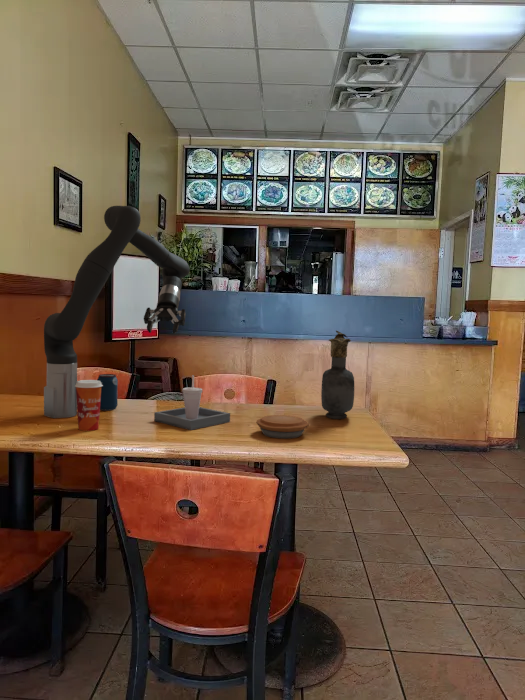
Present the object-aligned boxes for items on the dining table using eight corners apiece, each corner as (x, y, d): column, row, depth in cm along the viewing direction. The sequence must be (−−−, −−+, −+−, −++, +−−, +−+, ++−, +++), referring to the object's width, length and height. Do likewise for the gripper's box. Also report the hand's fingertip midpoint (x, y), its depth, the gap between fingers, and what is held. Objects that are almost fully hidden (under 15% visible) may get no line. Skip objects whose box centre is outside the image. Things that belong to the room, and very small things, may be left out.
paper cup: (76, 432, 148) (76, 383, 147) (72, 426, 155) (73, 380, 154) (105, 430, 152) (105, 382, 150) (100, 425, 158) (100, 379, 157)
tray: (190, 430, 155) (191, 420, 155) (154, 421, 166) (154, 412, 166) (229, 421, 168) (230, 413, 168) (193, 413, 179) (193, 405, 179)
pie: (272, 426, 165) (272, 410, 165) (316, 433, 157) (317, 417, 157) (245, 435, 152) (246, 418, 151) (292, 443, 144) (293, 425, 143)
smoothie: (203, 417, 170) (204, 374, 169) (199, 421, 164) (200, 377, 163) (184, 416, 171) (185, 373, 170) (179, 420, 164) (180, 376, 163)
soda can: (121, 408, 184) (122, 374, 183) (106, 411, 178) (106, 376, 178) (107, 406, 188) (108, 373, 187) (92, 409, 182) (92, 374, 181)
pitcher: (321, 420, 174) (325, 331, 172) (319, 410, 193) (322, 329, 191) (354, 422, 174) (358, 332, 171) (348, 411, 193) (352, 330, 190)
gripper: (148, 291, 189) (139, 323, 179) (187, 292, 189) (181, 325, 178) (151, 306, 195) (142, 338, 184) (189, 307, 195) (183, 339, 184)
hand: (161, 331), depth 181 cm, fingers open, 8 cm apart
